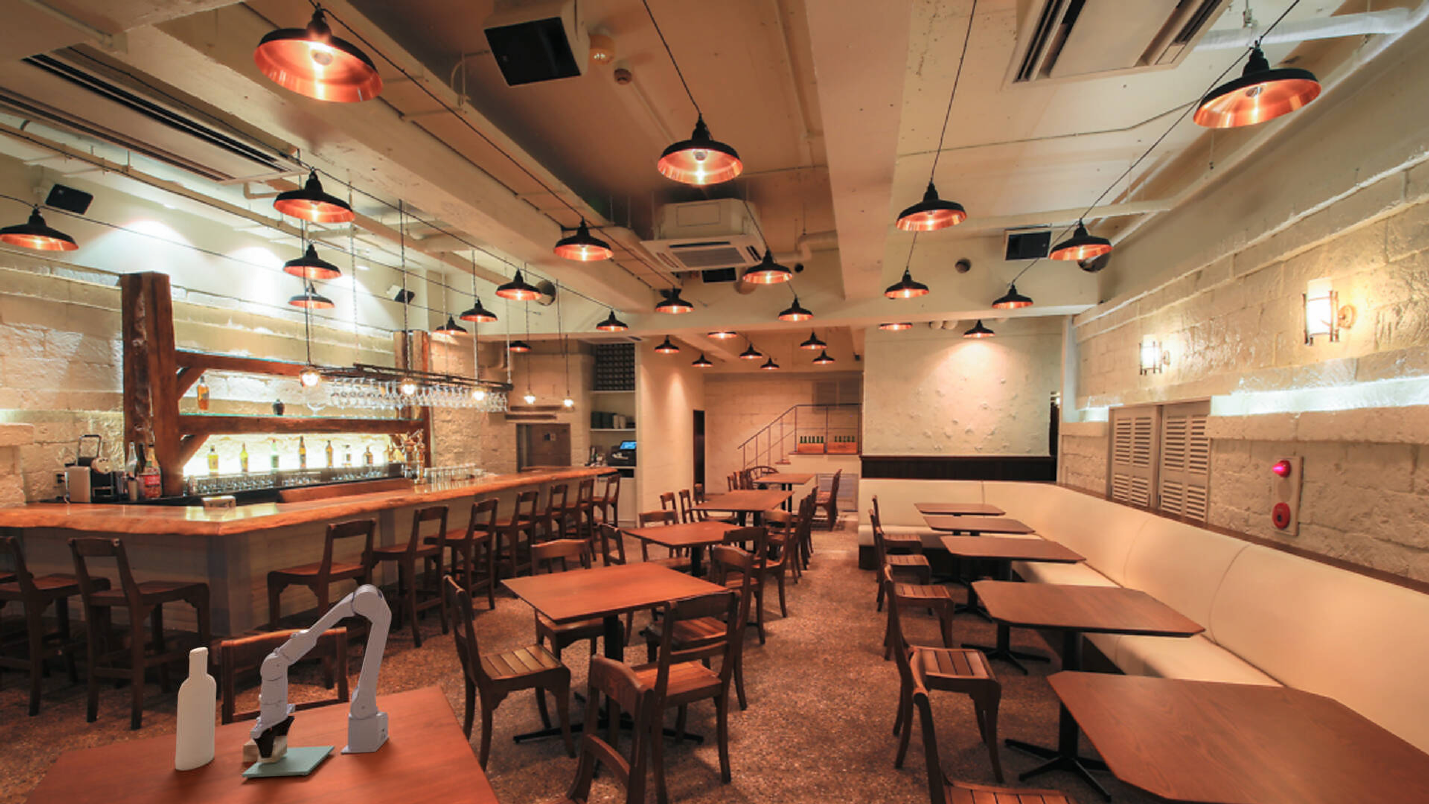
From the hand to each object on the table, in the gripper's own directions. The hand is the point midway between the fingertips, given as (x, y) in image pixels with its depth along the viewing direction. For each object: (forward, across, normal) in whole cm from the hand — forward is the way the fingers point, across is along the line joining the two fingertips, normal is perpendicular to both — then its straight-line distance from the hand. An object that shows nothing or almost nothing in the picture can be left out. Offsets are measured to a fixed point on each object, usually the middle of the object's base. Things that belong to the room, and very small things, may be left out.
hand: (272, 752), depth 155 cm
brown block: (+4, -6, -8) cm, 10 cm away
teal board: (+4, 0, +4) cm, 6 cm away
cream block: (+2, 0, 0) cm, 2 cm away
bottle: (+4, -4, -22) cm, 23 cm away
